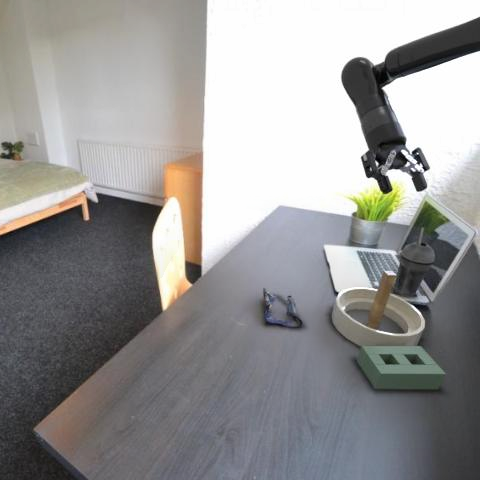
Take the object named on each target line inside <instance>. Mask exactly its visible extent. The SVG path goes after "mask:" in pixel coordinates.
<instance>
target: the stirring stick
mask: <svg viewBox="0 0 480 480" xmlns="http://www.w3.org/2000/svg"><path fill="white" fill-rule="evenodd" d="M396 277H397V274H396V273H395V272H394V271H393V270H383V271H382V275H381V278H380V281H379V284H378V287H377V293H376V296H375V299H374V302H373V305H372V308H371V311H370V310H369V315H368V317H367V321H366V323H365V324H366V326H367V327H370V328H372V329H375V330H378V329H379V327H380V324H381V321H382V319H383V316H384V315H383V313H384V310H385V307H386V305H387V302H388V299H389V296H390V293H391V294H392V290H393V289H394V286H395V281H396Z"/></svg>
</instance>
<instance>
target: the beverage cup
mask: <svg viewBox="0 0 480 480" xmlns="http://www.w3.org/2000/svg"><path fill="white" fill-rule="evenodd" d="M424 231H425V227H421V229H420V234H419V238H418V241H414V242H411V243H408V244H407V245H405V246H404V247H403V249H402V250H401V252H400V253H399V264H398V269H397V274H396V275H397V276H396V279H395V282H394V285H393V290H394V292H395V293H397V294H398V295H400V296H403V297H407V298H408V297H409V298H410V297H414V296H415V294H416V293H417V291H418V290H419V288H420V286H421V285H422V282H423V281H424V278H425V277H426V275H427V273H428V271H429V270H430V269H431V267H432V266H433V265H434V263H435V258H436V255H435V251H434V249H433V248H432V247H431V246H430V245H429V244H428V243H425V242H422V240H423V235H424Z"/></svg>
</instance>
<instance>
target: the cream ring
mask: <svg viewBox="0 0 480 480" xmlns="http://www.w3.org/2000/svg"><path fill="white" fill-rule="evenodd" d="M377 290H378V288H372V287H371V288H370V287H350V288H346V289H343V290H342V291H340V292H338V294H337V296H336V298H335V301H334V305H333V308H332V312H331V321H332V324H333V326H334V327H335V329H336V330H337V331H338V332H339V333H340V334H341V335H342V336H343V337H345V338H346V339H347V340H349V341H350V342H351V343H353V344H356V345H357V346H359V347H361V346H418V344H419V342H420V339H421V337H422V335H423V333H424V330H425V327H426V320H425V318H424V316H423V314H422V313H421V311H420V310H418V308H416V307H415V305H413V304H411V303H410V302H409V301H407V300H406V299H404V298H402V297H400V296H397V295H395V294H393V293H392V292H391V293H390V296H389V299H388V302H387V305H386V307H385V310H384V313H383V316H384V317H387V318H389V319H390V320H392V321H393V322H394V323H396V324H397V325H398V326H399V327H400V328H401V329H402V331H403V333H393V332H386V331H381V330H378V329H372V328H370V327H368V326H367V325H364V323H361V322H359V321H357V320H356V319H354V318H353V317H351V315H349V314H348V312H350V311H353V310H365V311H369V312H370V311H371V308H372V305H373V302H374V299H375V296H376V293H377Z"/></svg>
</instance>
